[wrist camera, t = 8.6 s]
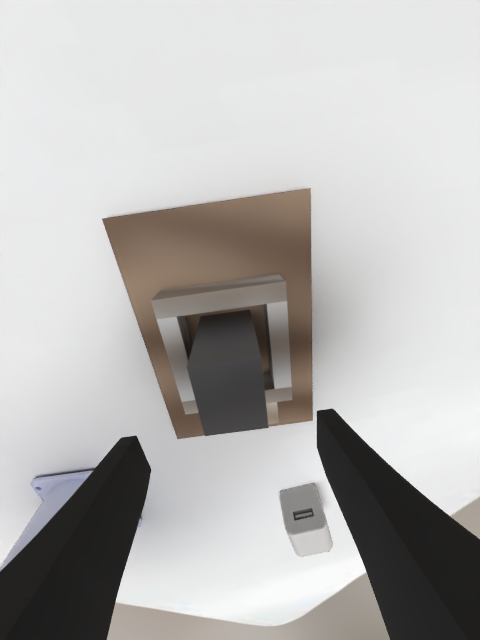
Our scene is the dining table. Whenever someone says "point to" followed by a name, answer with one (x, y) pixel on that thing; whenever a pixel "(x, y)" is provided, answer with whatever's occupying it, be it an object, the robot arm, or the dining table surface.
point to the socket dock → (223, 292)
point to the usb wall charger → (305, 520)
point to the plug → (228, 374)
